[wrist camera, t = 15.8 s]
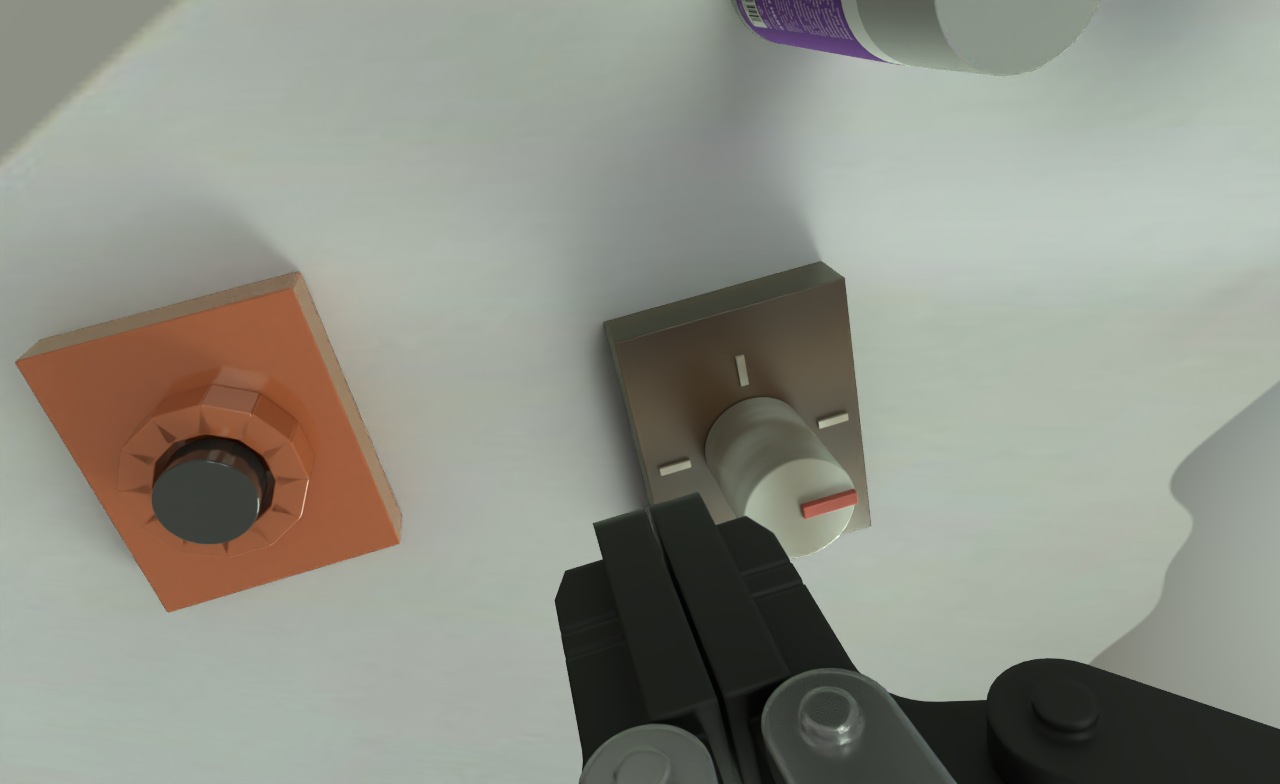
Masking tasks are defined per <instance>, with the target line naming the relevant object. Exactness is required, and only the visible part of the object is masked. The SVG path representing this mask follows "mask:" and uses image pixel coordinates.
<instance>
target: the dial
mask: <svg viewBox="0 0 1280 784" xmlns="http://www.w3.org/2000/svg"><path fill="white" fill-rule="evenodd" d="M705 456H706V461H707V465H708V467H709V469H710V471H711V473H712V474H713V476H714V478H715V480H716V482H717V484H718V485H719V487H720V489H721V491H722V493H723V494H724V496H725V498H726V500H727V502H728V503H729V505H730V507H731V509H732V511H733V512H734V514H735V516H736V518H740V517H743V516H747V517H749V518H751V519H752V520H754V521H755V522H757V523H759V524H760V525H762V526H763V527H765V528H767V529H768V530H770V531H771V532H773V533H774V534H775V536H776V537H777V539H778V541H779V542H780V544H781V546H782V547H783V549H784V551H785V552H786V554H787V556H788V557H789V559H793V558H800V557H804V556H808V555H810V554H813V553H815V552H817V551H819V550H821V549H823V548H824V547H826V546H828V545H829V544H830V543H831V542H833V541H834V540H835V539H836V538H837V537H838V536H839V535H840V534H841V533H842V531H843V530H844V529H845V527H846V526H847V524H848V522H849V520H850V518H851V516H852V513H853V510H854V505H856V504H858V496H857V492H856V490H855V489H854V486H853V483H852V480H851V478H850V477H849V475H848V474H847V472H846V471H845V470H844V469H843V468H842V466H841V465H840V464H839V463H838V462H837V460H836V459H835V458H834V457H833V455H832V454H831V453H830V452H829V451H828V449H827V448H826V447H825V446H824V445H823V443H822V442H821V441H820V440H819V439H818V437H817V436H816V435H815V434H814V433H813V431H812V430H811V429H810V428H809V427H808V425H807V424H806V423H805V422H804V421H803V419H802V418H801V417H800V416H799V415H798V413H797V412H796V411H795V410H794V409H793V408H792V407H791V406H790V405H788V404H787V403H785V402H783V401H781V400H778V399H774V398H768V397H758V398H751V399H747V400H744V401H741V402H739V403H737V404H735V405H733V406H732V407H730V408H729V409H727V410H726V411H725V412H724V413H723V414H722V415H721V416H720V417H719V418H718V419H717V420H716V421H715V423H714V424H713V426H712V428H711V429H710V432H709V434H708V437H707V440H706V445H705Z"/></svg>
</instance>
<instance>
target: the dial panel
mask: <svg viewBox="0 0 1280 784" xmlns="http://www.w3.org/2000/svg"><path fill="white" fill-rule="evenodd" d="M604 325H605V329H606V333H607V337H608V341H609V345H610V349H611V353H612V357H613V361H614V365H615V369H616V373H617V377H618V381H619V385H620V389H621V393H622V397H623V401H624V405H625V409H626V413H627V417H628V421H629V425H630V429H631V433H632V437H633V441H634V445H635V449H636V452H637V456H638V460H639V464H640V468H641V472H642V476H643V480H644V484H645V488H646V492H647V496H648V500H649V504H650V506H652V505H655V504H658V503H662V502H665V501H668V500H672V499H675V498H678V497H682V496H685V495H688V494H692V493H695V492H699V493H700V495H701V497H702V499H703V501H704V503H705V505H706V507H707V509H708V511H709V513H710V515H711V517H712V519H713V521H714V522H715V524H716V525H717V524H720V523H724V522H727V521H730V520H733V519H737V518H736V516H735V514H734V512H733V511H732V509H731V507H730V505H729V503H728V502H727V500H726V498H725V496H724V494H723V493H722V491H721V489H720V487H719V485H718V484H717V482H716V480H715V478H714V476H713V474H712V473H711V471H710V469H709V467H708V465H707V461H706V456H705V445H706V440H707V437H708V434H709V432H710V429H711V428H712V426H713V424H714V423H715V421H716V420H717V419H718V418H719V417H720V416H721V415H722V414H723V413H724V412H725V411H726V410H727V409H729V408H730V407H732V406H733V405H735V404H737V403H739V402H741V401H744V400H747V399H751V398H758V397H768V398H774V399H778V400H781V401H783V402H785V403H787V404H788V405H790V406H791V407H792V408H793V409H794V410H795V411H796V412H797V413H798V415H799V416H800V417H801V418H802V419H803V421H804V422H805V423H806V424H807V425H808V427H809V428H810V429H811V430H812V431H813V433H814V434H815V435H816V436H817V437H818V439H819V440H820V441H821V442H822V443H823V445H824V446H825V447H826V448H827V449H828V451H829V452H830V453H831V454H832V455H833V457H834V458H835V459H836V460H837V462H838V463H839V464H840V465H841V466H842V468H843V469H844V470H845V471H846V472H847V474H848V475H849V477H850V478H851V480H852V483H853V486H854V489H855V490H856V492H857V496H858V504H856V505H854V510H853V513H852V516H851V518H850V520H849V522H848V524H847V526H846V527H845V529H844V530H843V531H842V533H841V534H840V535H839V536H841V535H844V534H848V533H851V532H854V531H857V530H861V529H864V528H867V527H870V526H871V520H870V510H869V501H868V492H867V482H866V473H865V464H864V454H863V445H862V436H861V426H860V417H859V408H858V398H857V389H856V379H855V370H854V361H853V351H852V342H851V333H850V323H849V314H848V305H847V295H846V286H845V278H844V277H843V276H841V275H840V274H838V273H837V272H836V271H834V270H833V269H832V268H830V267H829V266H827V265H826V264H825V263H823V262H822V261H820V262H817V263H813V264H809V265H806V266H802V267H799V268H795V269H792V270H788V271H784V272H781V273H777V274H774V275H770V276H767V277H763V278H759V279H756V280H752V281H749V282H745V283H742V284H738V285H734V286H731V287H727V288H724V289H720V290H717V291H713V292H709V293H706V294H702V295H699V296H695V297H692V298H688V299H684V300H681V301H677V302H674V303H670V304H667V305H663V306H659V307H656V308H652V309H649V310H645V311H642V312H638V313H634V314H631V315H627V316H624V317H620V318H617V319H613V320H609V321H606V322H604Z"/></svg>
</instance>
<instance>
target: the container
mask: <svg viewBox="0 0 1280 784" xmlns="http://www.w3.org/2000/svg"><path fill="white" fill-rule="evenodd" d="M732 1H733V4H734V7H735V9H736V11H737V13H738V15H739V17H740V19H741V20H742V22H743V23H744V24H745V25H746V26H747V28H748V29H749V30H751V31H752V32H753V33H754V34H756V35H757V36H759V37H761V38H763V39H765V40H767V41H771V42H775V43H779V44H785V45H790V46H796V47H802V48H807V49H813V50H818V51H824V52H830V53H835V54H841V55H847V56H852V57H858V58H863V59H869V60H875V61H880V62H886V63H891V64H897V65H909V66H918V67H926V68H935V69H944V70H952V71H961V72H969V73H978V74H987V75H995V76H1013V75H1020V74H1024V73H1027V72H1030V71H1033V70H1036V69H1038V68H1040V67H1042V66H1044V65H1046V64H1047V63H1049V62H1051V61H1052V60H1054V59H1055V58H1057V57H1058V56H1059V55H1061V54H1062V53H1063V52H1064V51H1065V50H1066V49H1068V48H1069V47H1070V46H1071V45H1072V44H1073V43H1074V42H1075V40H1076V39H1077V38H1078V37H1079V36H1080V35H1081V33H1082V32H1083V31H1084V29H1085V28H1086V27H1087V25H1088V24H1089V22H1090V21H1091V19H1092V17H1093V16H1094V14H1095V12H1096V10H1097V8H1098V6H1099V4H1100V2H1101V0H732Z"/></svg>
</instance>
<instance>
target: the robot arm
mask: <svg viewBox="0 0 1280 784" xmlns="http://www.w3.org/2000/svg"><path fill="white" fill-rule="evenodd" d="M648 514H649V518H650V522H651V525H650V523H649V520H648V518H647V515H646V512H645V510H644V508H642V509H639V510H636V511H632V512H629V513H626V514H622V515H619V516H616V517H612V518H609V519H606V520H602V521H599V522H596V523H593V525H594V529H595V532H596V536H597V540H598V543H599V547H600V550H601V554H602V558H603V560H599V561H596V562H593V563H589V564H586V565H583V566H580V567H576V568H573V569H570V570H566V571H565V573H564V576H563V579H562V582H561V584H560V587H559V590H558V593H557V595H556V598H555V605H556V610H557V616H558V621H559V627H560V631H561V638H562V643H563V649H564V654H565V657H566V665H567V671H568V676H569V682H570V687H571V693H572V698H573V704H574V709H575V715H576V720H577V725H578V731H579V736H580V742H581V747H582V755H583V766H582V774H581V776H580V779H579V784H1280V729H1277V728H1274V727H1271V726H1268V725H1266V724H1263V723H1260V722H1257V721H1254V720H1251V719H1248V718H1245V717H1242V716H1239V715H1236V714H1233V713H1230V712H1227V711H1224V710H1221V709H1218V708H1215V707H1212V706H1209V705H1206V704H1203V703H1200V702H1197V701H1194V700H1191V699H1188V698H1185V697H1182V696H1179V695H1176V694H1173V693H1170V692H1167V691H1164V690H1161V689H1158V688H1155V687H1152V686H1149V685H1146V684H1143V683H1140V682H1137V681H1135V680H1131V679H1129V678H1126V677H1123V676H1120V675H1117V674H1114V673H1110V672H1108V671H1105V670H1101V669H1099V668H1095V667H1092V666H1090V665H1087V664H1083V663H1080V662H1076V661H1071V660H1065V659H1051V658H1046V659H1035V660H1030V661H1025V662H1022V663H1019V664H1017V665H1014V666H1012V667H1010V668H1009V669H1007V670H1005V671H1004V672H1003V673H1002V674H1001V675H999V676H998V677H997V678H996V680H995V681H994V682H993V684H992V685H991V687H990V690H989V692H988V695H987V700H977V701H948V702H925V701H918V700H911V699H907V698H903V697H899V696H896V695H894V694H891V693H889V692H887V691H886V689H885V688H884V687H882V686H881V685H880V684H878V683H877V682H876V681H874V680H873V679H871V678H869V677H867V676H865V675H863V674H861V673H860V672H859V671H858V670H857V669H856V667H855V666H854V665H853V663H852V662H851V660H850V658H849V657H848V655H847V653H846V652H845V650H844V648H843V647H842V645H841V643H840V642H839V640H838V638H837V637H836V635H835V634H834V632H833V630H832V629H831V627H830V625H829V624H828V622H827V620H826V619H825V617H824V615H823V614H822V612H821V610H820V609H819V607H818V605H817V604H816V602H815V600H814V599H813V597H812V595H811V594H810V592H809V590H808V589H807V587H806V585H803V582H802V579H801V577H800V576H799V574H798V572H797V571H796V569H795V567H794V566H793V564H792V563H790V560H789V557H788V556H787V554H786V552H785V551H784V549H783V547H782V546H781V544H780V542H779V541H778V539H777V537H776V536H775V534H774V533H773V532H771V531H770V530H768V529H767V528H765V527H763V526H762V525H760V524H759V523H757V522H755V521H754V520H752V519H751V518H749V517H747V516H743V517H740V518H737V519H733V520H730V521H727V522H724V523H720V524H717V525H716V524H715V522H714V521H713V519H712V517H711V515H710V513H709V511H708V509H707V507H706V505H705V503H704V501H703V499H702V497H701V495H700V493H699V492H695V493H692V494H688V495H685V496H682V497H678V498H675V499H672V500H668V501H665V502H662V503H658V504H655V505H652V506H648ZM651 526H652V528H651ZM652 530H653V531H652Z"/></svg>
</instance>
